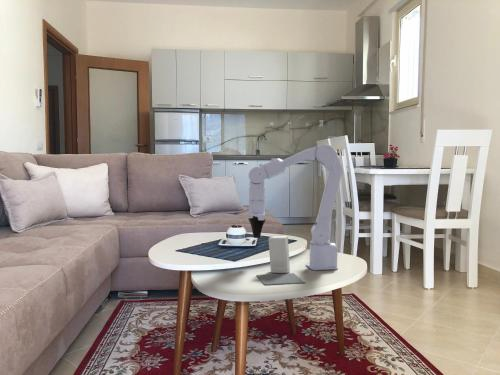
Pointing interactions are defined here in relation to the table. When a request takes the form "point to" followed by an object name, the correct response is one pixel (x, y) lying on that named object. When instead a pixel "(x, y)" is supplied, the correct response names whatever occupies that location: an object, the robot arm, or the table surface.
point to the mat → (280, 279)
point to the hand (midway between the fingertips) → (256, 237)
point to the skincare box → (279, 254)
